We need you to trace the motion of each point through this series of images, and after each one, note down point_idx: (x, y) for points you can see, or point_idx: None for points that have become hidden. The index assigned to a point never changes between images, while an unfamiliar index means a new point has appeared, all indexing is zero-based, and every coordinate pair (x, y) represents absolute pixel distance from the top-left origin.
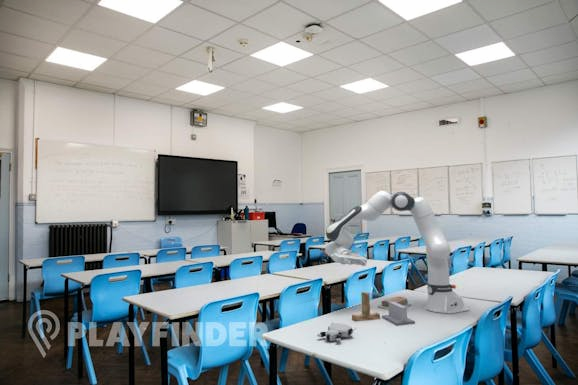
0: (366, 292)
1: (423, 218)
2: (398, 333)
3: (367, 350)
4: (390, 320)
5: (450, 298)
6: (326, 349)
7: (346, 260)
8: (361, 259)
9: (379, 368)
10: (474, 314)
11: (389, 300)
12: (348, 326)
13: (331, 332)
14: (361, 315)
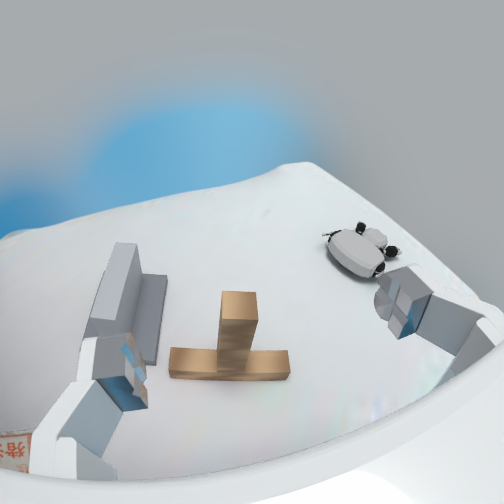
0: (231, 306)
1: None
2: (205, 236)
3: (312, 200)
4: (162, 306)
5: None
6: (378, 222)
7: (463, 304)
8: (52, 476)
9: (311, 168)
10: None
11: (16, 462)
12: (340, 239)
13: (377, 231)
14: (254, 355)
